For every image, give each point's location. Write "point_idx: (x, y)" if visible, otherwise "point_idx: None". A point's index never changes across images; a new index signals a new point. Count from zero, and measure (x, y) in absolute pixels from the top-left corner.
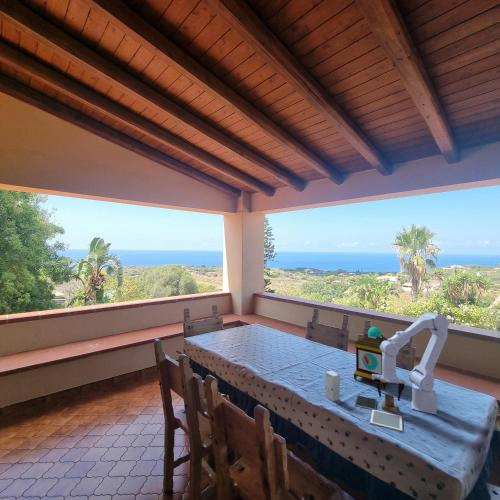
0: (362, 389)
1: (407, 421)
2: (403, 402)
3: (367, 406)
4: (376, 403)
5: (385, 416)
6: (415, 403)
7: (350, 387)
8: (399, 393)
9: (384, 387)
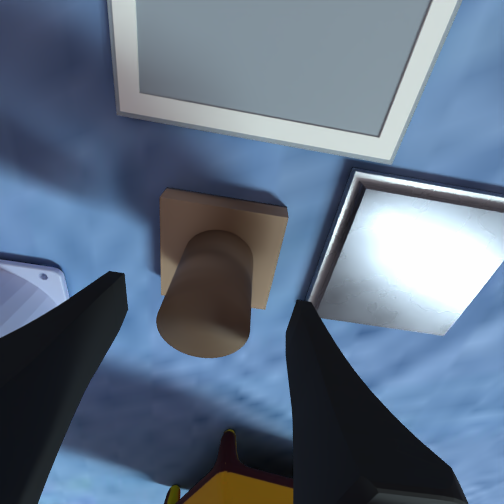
0: None
1: (64, 30)
2: (127, 337)
3: (426, 195)
4: (319, 271)
5: (285, 39)
6: (14, 310)
7: (427, 414)
8: (45, 330)
9: (228, 439)
